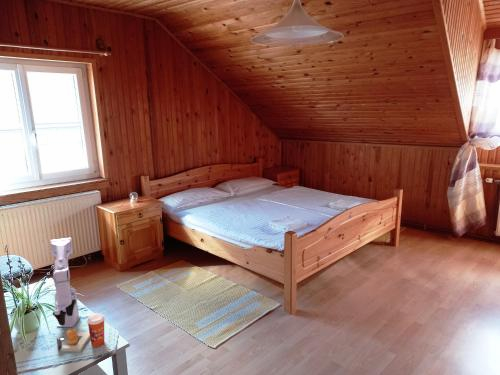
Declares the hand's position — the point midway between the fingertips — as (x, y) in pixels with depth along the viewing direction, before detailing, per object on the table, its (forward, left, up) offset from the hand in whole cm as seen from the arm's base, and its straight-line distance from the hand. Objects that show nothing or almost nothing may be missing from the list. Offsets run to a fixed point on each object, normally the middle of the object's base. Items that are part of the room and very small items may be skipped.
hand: (66, 320), depth 172 cm
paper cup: (+3, +15, -11) cm, 19 cm away
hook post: (+7, -1, -10) cm, 12 cm away
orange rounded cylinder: (+3, +4, -10) cm, 11 cm away
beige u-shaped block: (+3, +5, -10) cm, 12 cm away
